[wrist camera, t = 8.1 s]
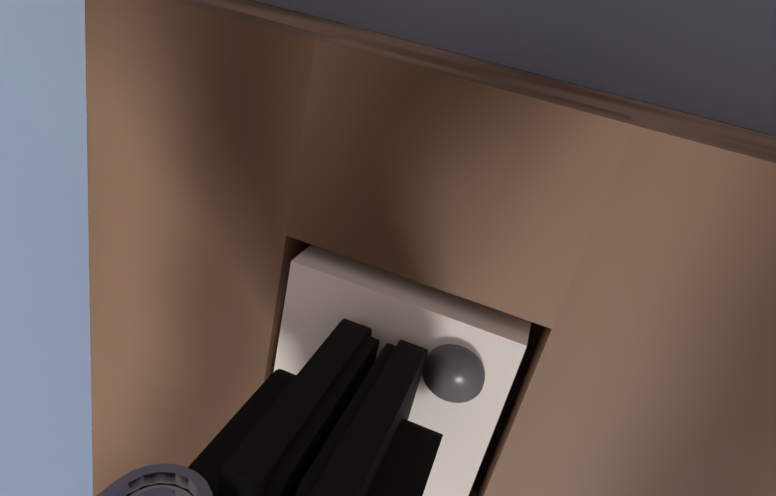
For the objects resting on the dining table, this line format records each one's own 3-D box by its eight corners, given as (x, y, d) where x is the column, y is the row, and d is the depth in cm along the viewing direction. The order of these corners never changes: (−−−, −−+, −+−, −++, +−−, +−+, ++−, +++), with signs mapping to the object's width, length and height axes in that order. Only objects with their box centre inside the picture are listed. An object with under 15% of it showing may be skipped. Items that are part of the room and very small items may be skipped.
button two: (538, 278, 12) (526, 350, 9) (480, 433, 14) (455, 529, 11) (348, 215, 13) (287, 263, 10) (317, 368, 14) (259, 443, 12)
